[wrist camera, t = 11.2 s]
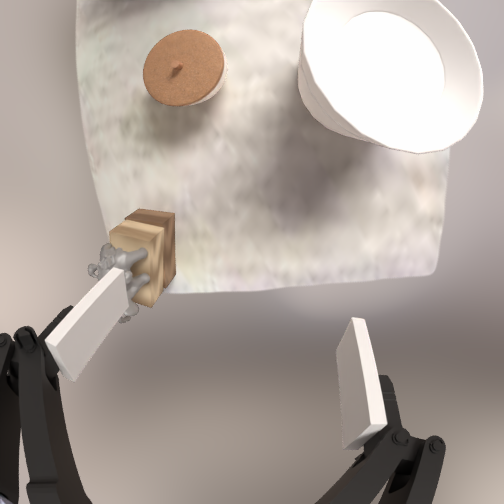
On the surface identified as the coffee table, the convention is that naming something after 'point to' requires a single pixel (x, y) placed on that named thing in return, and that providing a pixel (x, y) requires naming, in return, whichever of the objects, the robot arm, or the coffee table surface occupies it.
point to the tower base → (168, 224)
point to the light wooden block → (152, 240)
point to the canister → (390, 72)
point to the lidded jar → (185, 68)
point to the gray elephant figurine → (124, 261)
